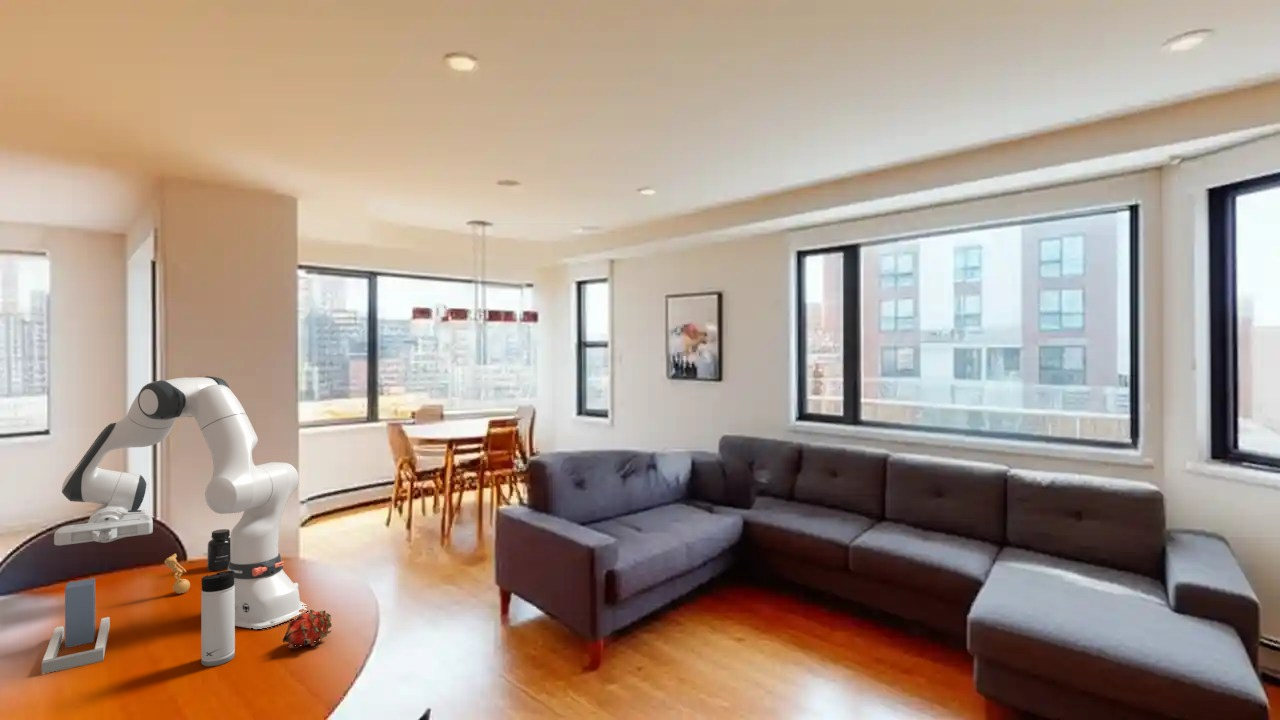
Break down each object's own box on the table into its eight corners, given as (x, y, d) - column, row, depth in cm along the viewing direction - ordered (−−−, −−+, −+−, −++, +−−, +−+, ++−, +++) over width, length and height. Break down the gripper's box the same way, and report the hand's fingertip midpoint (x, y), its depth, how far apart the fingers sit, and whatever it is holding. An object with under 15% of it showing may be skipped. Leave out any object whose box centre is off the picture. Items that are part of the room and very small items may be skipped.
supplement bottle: (219, 572, 194) (219, 534, 194) (201, 570, 195) (201, 533, 195) (238, 565, 200) (238, 528, 200) (220, 563, 202) (220, 527, 202)
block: (67, 640, 148) (67, 582, 148) (95, 634, 151) (95, 578, 151) (65, 648, 144) (64, 588, 144) (93, 642, 147) (93, 584, 147)
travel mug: (210, 670, 135) (209, 579, 135) (196, 661, 138) (196, 573, 138) (240, 658, 140) (240, 571, 140) (226, 650, 144) (226, 565, 143)
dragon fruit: (336, 640, 152) (288, 668, 142) (317, 615, 155) (268, 641, 145) (344, 619, 149) (296, 647, 139) (325, 594, 152) (275, 619, 141)
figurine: (197, 593, 177) (197, 551, 177) (175, 600, 172) (175, 558, 172) (180, 588, 181) (180, 547, 181) (157, 595, 175) (157, 554, 175)
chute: (55, 637, 149) (55, 627, 149) (109, 626, 156) (109, 616, 156) (41, 674, 132) (41, 663, 132) (103, 660, 139) (103, 649, 139)
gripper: (56, 519, 166) (49, 532, 155) (153, 509, 178) (152, 520, 168) (56, 543, 166) (49, 557, 155) (153, 530, 179) (152, 543, 168)
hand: (103, 537), depth 161 cm, fingers closed
